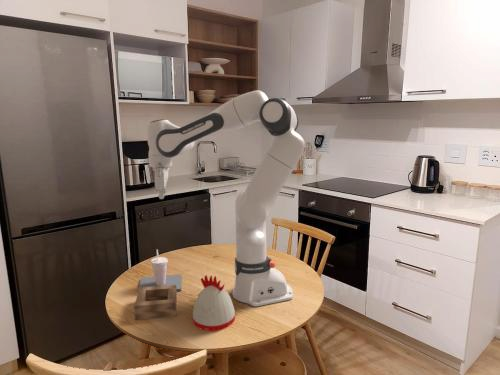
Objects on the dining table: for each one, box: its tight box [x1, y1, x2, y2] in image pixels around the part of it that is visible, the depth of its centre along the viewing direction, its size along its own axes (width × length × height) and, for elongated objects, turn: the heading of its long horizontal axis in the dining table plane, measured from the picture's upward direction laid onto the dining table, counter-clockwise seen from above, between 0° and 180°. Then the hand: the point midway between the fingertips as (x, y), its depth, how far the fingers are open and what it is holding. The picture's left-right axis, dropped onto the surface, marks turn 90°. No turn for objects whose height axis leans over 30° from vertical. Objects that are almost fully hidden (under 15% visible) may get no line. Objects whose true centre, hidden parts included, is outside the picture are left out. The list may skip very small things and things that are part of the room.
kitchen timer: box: [192, 275, 236, 332], centre depth 119 cm, size 14×14×15 cm
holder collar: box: [133, 285, 178, 321], centre depth 127 cm, size 13×13×5 cm
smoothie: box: [150, 249, 169, 285], centre depth 142 cm, size 6×6×14 cm
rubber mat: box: [136, 273, 182, 295], centre depth 144 cm, size 16×13×1 cm
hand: (162, 196), depth 146 cm, fingers open, 8 cm apart
